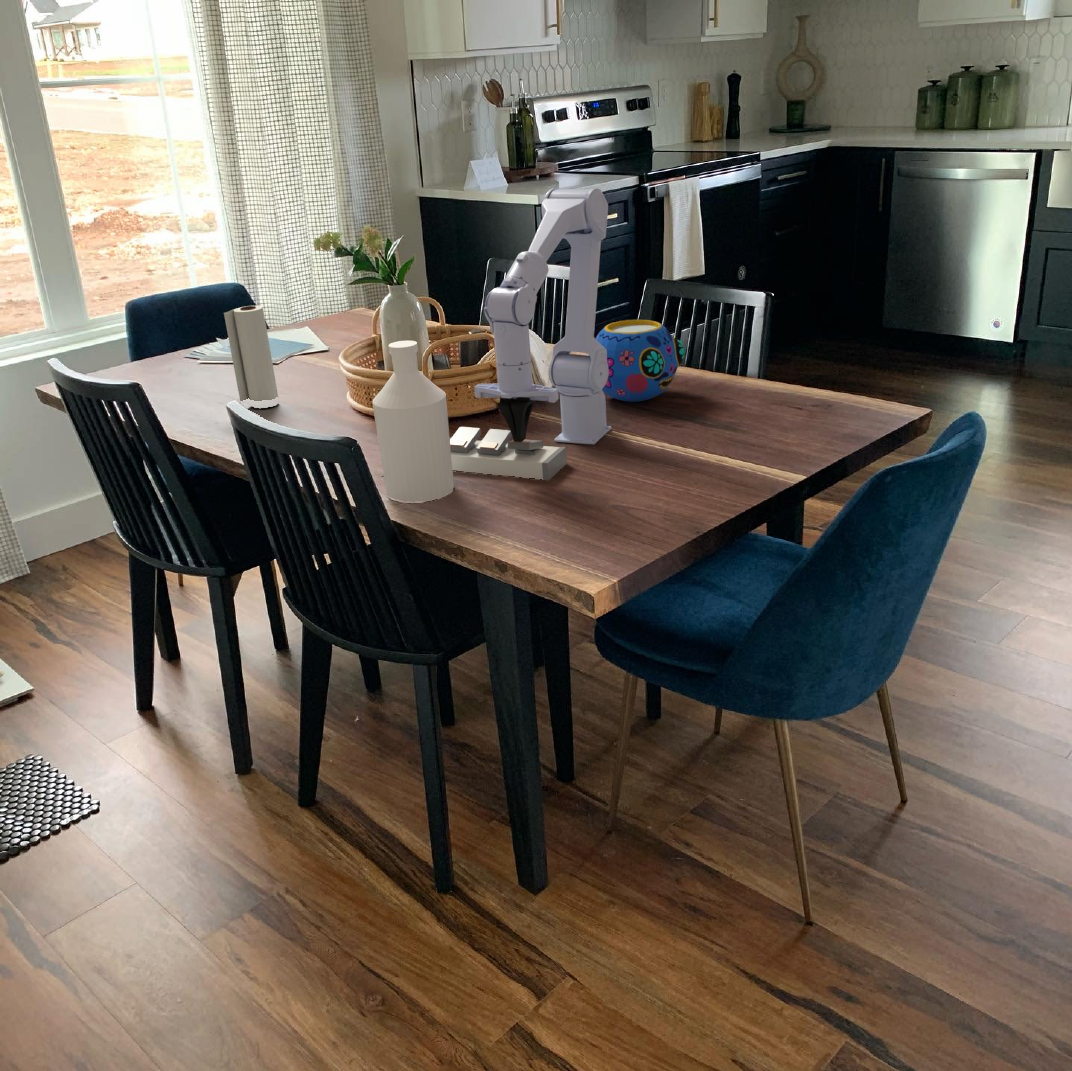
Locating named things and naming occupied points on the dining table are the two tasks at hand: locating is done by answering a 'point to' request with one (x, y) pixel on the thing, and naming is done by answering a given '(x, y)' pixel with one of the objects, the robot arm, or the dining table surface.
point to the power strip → (513, 462)
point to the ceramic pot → (639, 359)
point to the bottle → (413, 430)
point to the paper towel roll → (251, 353)
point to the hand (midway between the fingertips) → (519, 440)
